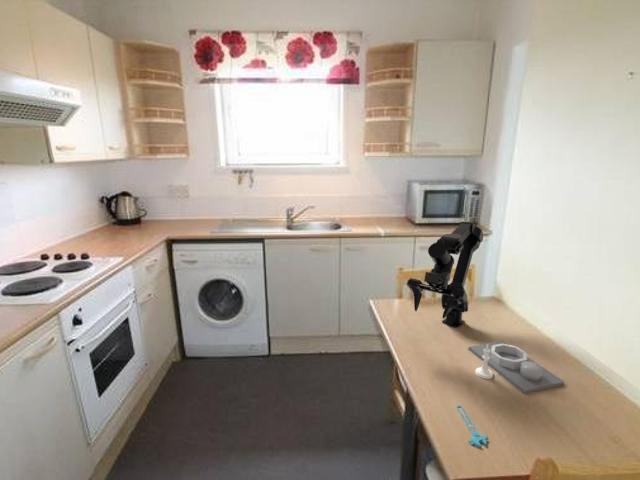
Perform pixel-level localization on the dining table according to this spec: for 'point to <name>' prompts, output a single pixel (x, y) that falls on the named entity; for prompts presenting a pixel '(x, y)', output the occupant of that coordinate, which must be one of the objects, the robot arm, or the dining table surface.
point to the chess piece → (485, 366)
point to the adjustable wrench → (476, 436)
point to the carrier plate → (517, 367)
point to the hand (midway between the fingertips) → (429, 314)
